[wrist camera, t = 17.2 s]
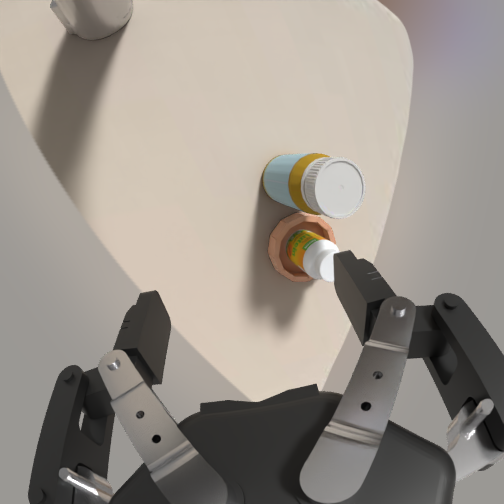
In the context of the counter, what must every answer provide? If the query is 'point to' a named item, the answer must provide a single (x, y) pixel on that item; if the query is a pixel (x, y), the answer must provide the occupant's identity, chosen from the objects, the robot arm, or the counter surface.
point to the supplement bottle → (312, 254)
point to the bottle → (315, 184)
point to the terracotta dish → (281, 236)
